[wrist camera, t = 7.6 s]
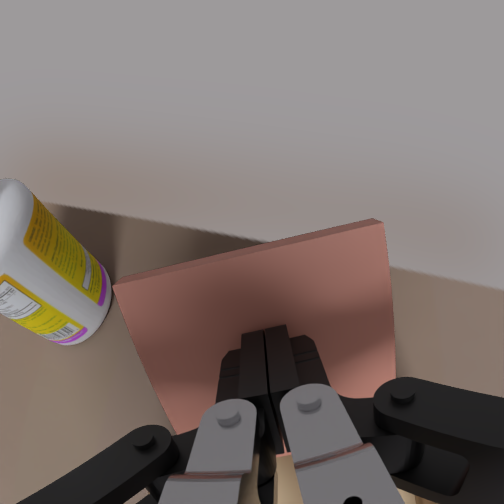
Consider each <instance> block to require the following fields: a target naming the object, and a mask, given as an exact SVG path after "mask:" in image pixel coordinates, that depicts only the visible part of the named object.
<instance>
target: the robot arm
mask: <svg viewBox="0 0 504 504" xmlns="http://www.w3.org/2000/svg"><path fill="white" fill-rule="evenodd" d="M283 440H284V443H283ZM284 444H285V447H286V451H287V453H288V452H291V455H292V459H293V463H294V468H295V472H296V476H297V480H298V484H299V488H300V492H301V496H302V500H303V504H405V502H404V501H403V499H402V497H401V495H400V493H399V491H398V489H401V490H403V491H406V492H408V493H411V494H413V495H416V496H419V497H421V498H424V499H427V500H429V501H432V502H435V503H438V504H504V398H502V397H497V396H492V395H487V394H482V393H478V392H473V391H468V390H464V389H459V388H455V387H451V386H446V385H442V384H438V383H434V382H430V381H426V380H422V379H418V378H413V377H401V378H396V379H392V380H390V381H387V382H385V383H384V384H382V385H381V386H380V387H379V388H378V389H377V390H376V391H375V393H374V396H373V397H371V398H348V397H344V396H342V395H339V394H338V393H337V392H336V391H335V390H334V389H333V388H332V387H331V386H330V383H329V380H328V378H327V375H326V372H325V369H324V367H323V364H322V361H321V358H320V356H319V353H318V351H317V348H316V345H315V342H314V340H312V339H311V338H309V337H308V336H306V335H301V336H296V337H292V338H289V335H288V330H287V326H286V324H284V325H280V326H275V327H271V328H266V329H265V333H264V330H263V329H262V330H257V331H253V332H248V333H243V334H242V335H241V349H235V350H230V351H228V353H227V354H226V355H225V356H224V358H223V359H222V361H221V367H220V374H219V381H218V387H217V394H216V401H215V405H213V406H211V407H210V408H209V409H207V410H206V411H205V413H204V414H203V415H202V418H201V421H200V424H199V427H198V428H196V429H193V430H191V431H188V432H185V433H181V434H178V435H175V436H171V434H170V432H169V431H168V430H167V429H166V428H165V427H162V426H159V425H146V426H142V427H139V428H137V429H135V430H133V431H131V432H130V433H128V434H127V435H125V436H124V437H122V438H121V439H120V440H118V441H117V442H115V443H114V444H112V445H111V446H109V447H108V448H106V449H105V450H103V451H102V452H100V453H99V454H97V455H96V456H94V457H93V458H91V459H89V460H88V461H86V462H85V463H83V464H82V465H80V466H79V467H77V468H75V469H74V470H72V471H71V472H69V473H67V474H66V475H64V476H63V477H61V478H59V479H58V480H56V481H54V482H53V483H51V484H49V485H48V486H46V487H44V488H43V489H41V490H39V491H38V492H36V493H34V494H32V495H31V496H29V497H27V498H25V499H24V500H22V501H20V502H18V503H16V504H123V503H125V502H126V501H127V500H129V499H130V498H131V497H133V496H134V495H136V494H137V493H138V492H140V491H141V490H142V489H144V488H146V489H147V490H148V492H149V493H150V494H148V495H147V496H146V497H144V498H143V499H142V500H140V501H139V502H138V503H136V504H277V503H278V474H277V471H276V468H277V462H276V455H278V454H284V453H285V451H284ZM397 488H398V489H397Z"/></svg>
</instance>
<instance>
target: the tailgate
mask: <svg viewBox="0 0 504 504" xmlns="http://www.w3.org/2000/svg"><path fill="white" fill-rule="evenodd" d="M112 287H113V290H114V293H115V296H116V299H117V301H118V304H119V307H120V309H121V312H122V315H123V317H124V320H125V323H126V325H127V328H128V330H129V333H130V335H131V338H132V340H133V343H134V345H135V347H136V350H137V352H138V355H139V357H140V359H141V362H142V364H143V366H144V368H145V371H146V373H147V375H148V377H149V379H150V382H151V384H152V386H153V388H154V390H155V392H156V394H157V396H158V398H159V400H160V403H161V405H162V407H163V409H164V411H165V413H166V415H167V416H168V418H169V420H170V422H171V424H172V426H173V428H174V430H175V432H176V434H177V435H178V434H181V433H185V432H188V431H191V430H193V429H196V428H198V427H199V424H200V421H201V418H202V415H203V414H204V413H205V411H206V410H207V409H209V408H210V407H211V406H213V405H215V401H216V394H217V387H218V381H219V374H220V367H221V361H222V359H223V358H224V356H225V355H226V354H227V353H228V351H230V350H235V349H241V335H242V334H243V333H248V332H253V331H257V330H262V329H263V330H264V333H265V329H266V328H271V327H275V326H280V325H284V324H286V326H287V330H288V335H289V338H292V337H296V336H301V335H306V336H308V337H309V338H311V339H312V340H314V342H315V345H316V348H317V351H318V353H319V356H320V358H321V361H322V364H323V367H324V369H325V372H326V375H327V378H328V380H329V383H330V386H331V387H332V388H333V389H334V390H335V391H336V392H337V393H338V394H339V395H342V396H344V397H348V398H371V397H373V396H374V393H375V391H376V390H377V389H378V388H379V387H380V386H381V385H382V384H384V383H385V382H387V381H390V380H392V379H396V365H395V334H394V316H393V302H392V290H391V279H390V270H389V261H388V252H387V244H386V237H385V230H384V223H383V222H381V221H378V220H375V219H373V218H371V219H367V220H363V221H359V222H354V223H350V224H346V225H341V226H337V227H332V228H329V229H324V230H320V231H315V232H311V233H307V234H302V235H298V236H294V237H290V238H285V239H281V240H277V241H272V242H268V243H264V244H260V245H255V246H251V247H247V248H243V249H238V250H234V251H230V252H226V253H221V254H217V255H213V256H209V257H205V258H200V259H196V260H192V261H188V262H183V263H179V264H175V265H171V266H167V267H163V268H158V269H154V270H150V271H146V272H142V273H137V274H133V275H129V276H125V277H122V278H121V279H120V280H119V281H117V282H116V283H115V284H114V285H113V286H112ZM283 443H284V440H283ZM284 451H285V453H284V454H278V455H276V457H282V456H287V455H291V452H288V453H287V451H286V447H285V444H284Z"/></svg>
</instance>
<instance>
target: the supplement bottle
mask: <svg viewBox="0 0 504 504" xmlns="http://www.w3.org/2000/svg"><path fill="white" fill-rule="evenodd" d="M110 301H111V282H110V278H109V276H108V273H107V271H106V270H105V268H104V267H103V266H102V265H101V264H100V263H99V262H98V261H97V260H96V259H95V258H94V257H93V255H91V254H90V253H89V252H88V251H87V250H86V249H85V248H84V247H83V246H82V245H81V244H80V243H79V242H78V241H77V240H76V239H75V238H74V237H73V236H72V235H71V234H70V233H69V232H68V231H67V230H66V229H65V228H64V226H63V225H62V224H61V223H60V222H59V221H58V220H57V219H56V218H55V217H54V216H53V215H52V214H51V213H50V212H49V211H48V210H47V209H46V208H45V206H44V205H43V204H42V203H41V202H40V201H39V200H38V199H37V198H36V197H35V195H34V194H33V193H32V192H31V191H30V190H29V189H28V188H27V187H26V186H25V185H24V184H23V183H22V182H20V181H18V180H15V179H10V178H8V179H7V178H6V179H0V313H1V314H3V315H4V316H6V317H8V318H9V319H11V320H13V321H15V322H16V323H18V324H20V325H22V326H23V327H25V328H27V329H29V330H31V331H33V332H35V333H36V334H38V335H40V336H42V337H44V338H46V339H48V340H50V341H53V342H55V343H58V344H62V345H74V344H78V343H80V342H82V341H84V340H86V339H87V338H89V337H90V336H91V335H92V334H93V333H94V332H95V331H96V330H97V329H98V328H99V326H100V325H101V324H102V322H103V320H104V318H105V316H106V314H107V312H108V309H109V306H110Z"/></svg>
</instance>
